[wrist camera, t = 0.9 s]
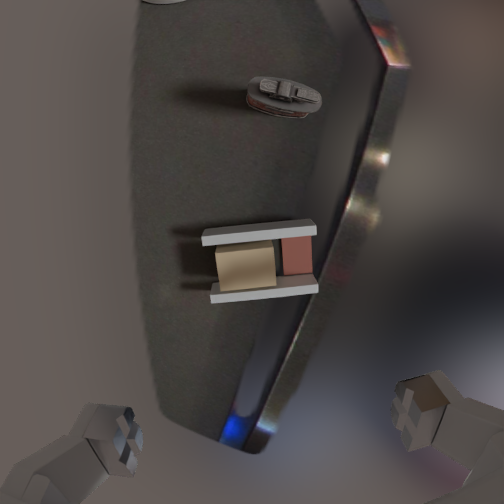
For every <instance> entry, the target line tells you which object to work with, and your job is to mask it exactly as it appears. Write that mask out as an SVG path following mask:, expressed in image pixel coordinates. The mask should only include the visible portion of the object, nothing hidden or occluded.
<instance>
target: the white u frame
mask: <svg viewBox="0 0 504 504" xmlns="http://www.w3.org/2000/svg"><path fill="white" fill-rule="evenodd" d="M316 234H317V231H316V225H315V224H314V223H313V222H312V221H311V219H300V220H289V221H278V222H267V223H257V224H247V225H237V226H227V227H218V228H208V229H205V230H204V232H203V234H202V236H201V238H202V245H203V246H209V245H219V244H229V243H239V242H249V241H259V240H269V239H279V238H289V237H300V236H310V235H316ZM309 293H318V283H317V281H316V279H315V278H314V276H313V274H312V273H306V274H297V275H288V276H279V277H276V286H267V287H258V288H249V289H239V290H230V291H221V290H220V283H219V282H218V283H212V288H211V293H210V298H211V303H222V302H234V301H244V300H254V299H264V298H274V297H283V296H291V295H301V294H309Z"/></svg>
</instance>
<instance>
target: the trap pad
mask: <svg viewBox="0 0 504 504" xmlns="http://www.w3.org/2000/svg"><path fill="white" fill-rule="evenodd" d="M281 241H282V255H283V270H284V275H293V274H302V273H311V272H312V251H311V235H310V236H300V237H289V238H281Z"/></svg>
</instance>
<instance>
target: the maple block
mask: <svg viewBox="0 0 504 504" xmlns="http://www.w3.org/2000/svg"><path fill="white" fill-rule="evenodd" d="M215 256H216V263H217V270H218V277H219V283H220V290H221V291H230V290H239V289H249V288H258V287H267V286H276V272H275V260H274V249H273V245H272V242H271V239H269V240H259V241H249V242H239V243H229V244H219V245H217V248H216V252H215Z"/></svg>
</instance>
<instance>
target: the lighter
mask: <svg viewBox="0 0 504 504" xmlns="http://www.w3.org/2000/svg"><path fill="white" fill-rule="evenodd" d="M247 91H248V94H247V98H246V101H247V104H248V105H249V106H250V107H251V108H253V109H256V110H258V111H261V112H263V113H266V114H270V115H273V116H278V117H284V118H294V119H301V118H304V117H305V116H306V115H307V114H308V113H314V112H315V111H317V110H318V109H319V108H320V107H321V104H322V98H321V95H320V94H319V92H317V91H316V90H314V89H312V88H310V87H307V86H305V85H303V84H300V83H297V82H294V81H291V80H287V79H282V78H276V77H255V78H253V79H251V81H250V82H249V84H248V89H247Z"/></svg>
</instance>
